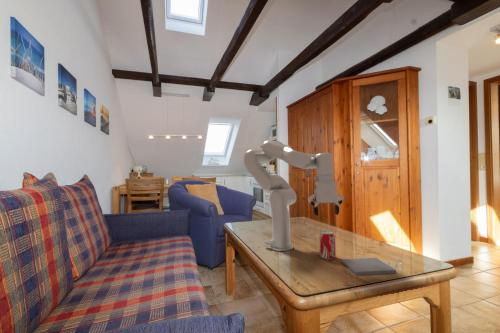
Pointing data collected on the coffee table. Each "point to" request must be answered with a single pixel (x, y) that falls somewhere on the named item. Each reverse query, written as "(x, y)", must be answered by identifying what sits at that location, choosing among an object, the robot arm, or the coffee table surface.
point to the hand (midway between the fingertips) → (326, 214)
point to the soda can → (327, 245)
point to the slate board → (367, 266)
